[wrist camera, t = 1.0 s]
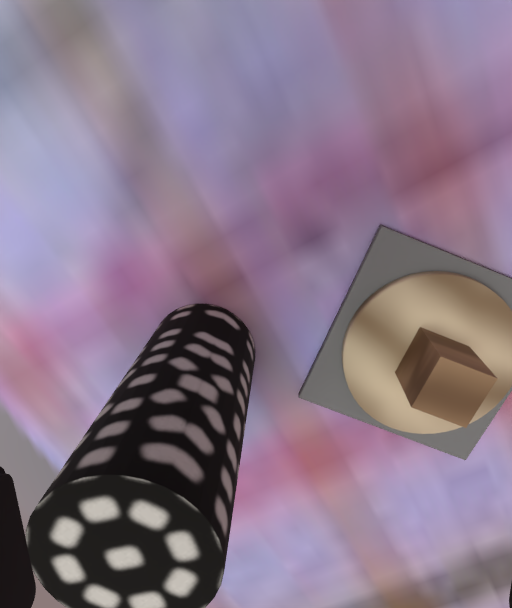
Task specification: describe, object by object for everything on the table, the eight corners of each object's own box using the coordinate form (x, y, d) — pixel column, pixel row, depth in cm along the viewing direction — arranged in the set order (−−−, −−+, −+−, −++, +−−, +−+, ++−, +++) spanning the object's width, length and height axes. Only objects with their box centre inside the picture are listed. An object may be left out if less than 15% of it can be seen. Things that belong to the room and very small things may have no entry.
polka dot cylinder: (236, 291, 37) (183, 454, 18) (267, 383, 39) (250, 613, 20) (137, 319, 38) (-11, 498, 19) (174, 407, 40) (75, 643, 22)
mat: (380, 224, 34) (381, 226, 34) (565, 299, 35) (569, 302, 35) (298, 393, 39) (298, 397, 39) (463, 455, 40) (465, 460, 40)
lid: (387, 244, 34) (409, 266, 28) (549, 309, 35) (602, 343, 29) (315, 391, 38) (320, 437, 33) (461, 446, 39) (491, 500, 33)
